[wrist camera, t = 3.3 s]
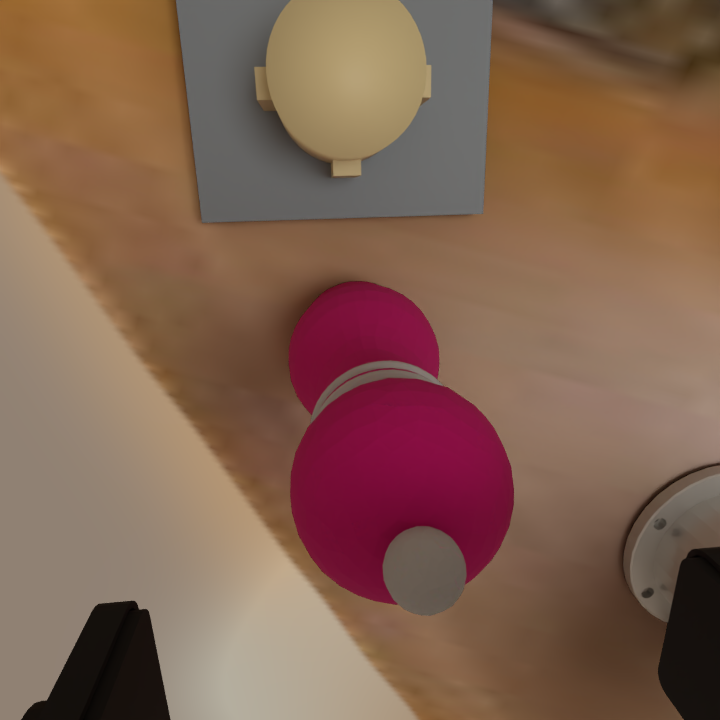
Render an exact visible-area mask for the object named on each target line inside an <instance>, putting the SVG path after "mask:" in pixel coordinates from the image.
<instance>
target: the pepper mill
mask: <svg viewBox="0 0 720 720" xmlns="http://www.w3.org/2000/svg"><path fill="white" fill-rule="evenodd" d="M289 369H290V376H291V382H292V384H293V387H294V389H295V392H296V394H297V397H298V398H299V400H300V401H301V402H302V404H303V405H304V407H305V408H306V409H307V410H308V411H309V413H310V414H311V415H312V417H311V423H310V425H309V427H308V428H307V430H306V432H305V434H304V436H303V438H302V440H301V442H300V444H299V446H298V449H297V451H296V453H295V457H294V462H293V467H292V471H291V488H290V498H291V507H292V514H293V518H294V521H295V525H296V528H297V532H298V535H299V537H300V539H301V540H302V542H303V544H304V546H305V547H306V549H307V551H308V553H309V555H310V556H311V558H312V559H313V560H314V562H315V563H316V564H317V565H318V567H319V568H320V569H321V571H322V572H323V573H325V574H326V575H327V576H328V577H330V578H331V579H332V580H333V581H335V582H336V583H337V584H338V585H339V586H341V587H343V588H345V589H347V590H349V591H351V592H352V593H354V594H356V595H358V596H361V597H364V598H367V599H370V600H373V601H377V602H383V603H389V604H395V605H397V604H399V605H400V606H401V607H402V608H403V609H405V610H407V611H409V612H412V613H414V614H418V615H426V616H431V615H434V614H437V613H440V612H443V611H445V610H446V609H448V608H450V607H451V606H453V605H454V603H455V602H456V601H457V599H458V598H459V597H460V596H461V593H462V591H463V589H464V585H465V584H467V583H468V582H469V581H471V580H472V579H473V578H475V577H476V576H477V575H478V574H479V573H480V572H481V571H482V570H483V568H484V567H485V566H486V565H487V564H488V563H489V562H490V561H491V560H492V559H493V557H494V555H495V554H496V552H497V551H498V549H499V548H500V546H501V544H502V541H503V539H504V537H505V535H506V533H507V530H508V528H509V525H510V520H511V515H512V511H513V506H514V487H513V478H512V470H511V465H510V463H509V460H508V457H507V454H506V452H505V449H504V447H503V445H502V443H501V441H500V439H499V437H498V435H497V433H496V431H495V429H494V427H493V426H492V425H491V423H490V422H489V421H488V420H487V418H486V417H485V416H484V415H483V414H482V413H481V412H480V411H479V410H478V409H477V408H476V407H475V406H474V405H473V404H472V403H470V402H469V401H467V400H466V399H464V398H463V397H461V396H460V395H458V394H457V393H455V392H454V391H452V390H451V389H449V388H448V387H444V386H443V385H442V384H441V383H440V382H439V381H438V380H437V378H438V371H439V348H438V345H437V341H436V337H435V334H434V332H433V330H432V328H431V326H430V324H429V322H428V320H427V319H426V317H425V316H424V314H423V313H422V311H421V310H420V309H419V308H418V307H417V306H416V305H415V304H414V303H413V302H412V301H411V300H409V299H408V298H406V297H405V296H404V295H402V294H400V293H398V292H396V291H394V290H392V289H389V288H386V287H382V286H379V285H376V284H373V283H369V282H363V281H356V282H346V283H342V284H339V285H337V286H334V287H332V288H330V289H328V290H326V291H325V292H323V293H322V294H321V295H320V296H319V297H318V298H317V299H316V300H315V301H314V302H313V303H312V304H311V306H310V307H309V308H308V309H307V311H306V312H305V313H304V314H303V315H302V317H301V318H300V320H299V322H298V323H297V325H296V327H295V329H294V332H293V335H292V337H291V341H290V346H289Z"/></svg>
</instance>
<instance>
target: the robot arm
mask: <svg viewBox="0 0 720 720" xmlns="http://www.w3.org/2000/svg"><path fill="white" fill-rule="evenodd" d="M623 569H624V574H625V579H626V582H627V584H628V586H629V588H630V590H631V592H632V593H633V595H634V596H635V597H636V599H637V600H638V601H639V603H640V604H641V605H642V606H643V607H644V608H645V609H646V610H647V611H648V612H649V613H650V614H651V615H653V616H655V617H656V618H658V619H660V620H662V621H664V622H667V623H668V624H667V629H666V634H665V639H664V643H663V648H662V653H661V658H660V663H659V667H658V675H659V680H660V683H661V686H662V688H663V690H664V692H665V693H666V695H667V696H668V698H669V699H670V701H671V702H672V703H673V705H674V706H675V708H676V709H677V711H678V712H679V713H680V715H681V716H682V718H683V719H684V720H720V465H718V466H713V467H708V468H705V469H703V470H700V471H697V472H694V473H692V474H689V475H687V476H686V477H684V478H682V479H680V480H678V481H676V482H675V483H673V484H672V485H670V486H669V487H668V488H666V489H665V490H664V491H662V492H661V493H660V494H658V495H657V496H656V497H655V498H654V499H653V500H652V501H651V502H650V503H649V504H648V505H647V506H646V508H645V509H644V510H643V512H642V513H641V515H640V516H639V517H638V519H637V520H636V522H635V523H634V525H633V527H632V530H631V532H630V534H629V536H628V538H627V542H626V546H625V550H624V559H623ZM21 720H170V715H169V710H168V705H167V700H166V695H165V690H164V685H163V680H162V675H161V670H160V665H159V660H158V655H157V649H156V645H155V640H154V634H153V629H152V624H151V619H150V615H149V611H148V610H147V609H142V610H139V608H138V605H137V603H136V602H135V601H125V602H114V603H103V604H98V605H97V606H95V608H94V609H93V611H92V612H91V615H90V616H89V618H88V620H87V622H86V624H85V626H84V628H83V630H82V632H81V634H80V636H79V638H78V640H77V642H76V644H75V646H74V648H73V650H72V652H71V654H70V656H69V658H68V660H67V662H66V664H65V666H64V668H63V670H62V672H61V674H60V676H59V678H58V680H57V682H56V684H55V686H54V688H53V690H52V692H51V694H50V696H49V698H48V699H47V701H40V702H37V703H34V704H33V705H32V706H31V707H30V708H29V709H28V710H27V712H26V713H25V715H24V716H23V718H22V719H21Z"/></svg>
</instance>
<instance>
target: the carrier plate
mask: <svg viewBox="0 0 720 720" xmlns="http://www.w3.org/2000/svg"><path fill="white" fill-rule="evenodd" d="M176 5H177V14H178V22H179V31H180V39H181V48H182V56H183V65H184V73H185V82H186V90H187V99H188V108H189V116H190V125H191V133H192V142H193V150H194V159H195V167H196V176H197V184H198V193H199V201H200V210H201V218H202V223H208V222H239V221H271V220H302V219H334V218H366V217H397V216H429V215H461V214H483V205H484V182H485V160H486V138H487V116H488V94H489V72H490V49H491V27H492V5H493V0H176Z"/></svg>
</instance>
